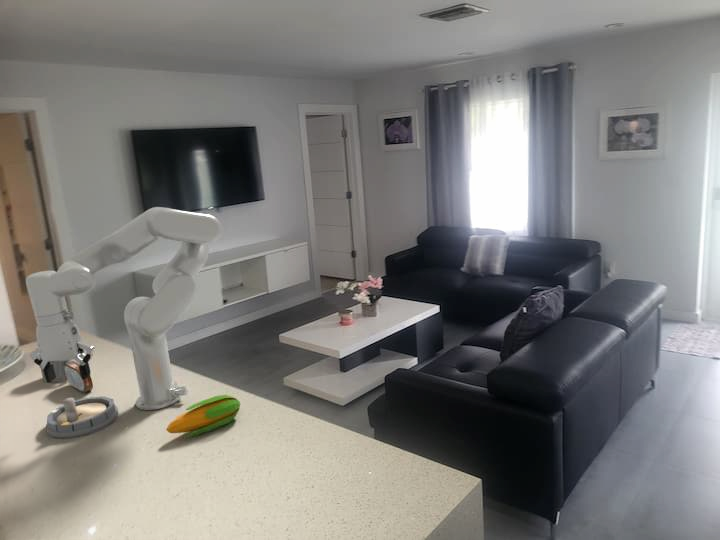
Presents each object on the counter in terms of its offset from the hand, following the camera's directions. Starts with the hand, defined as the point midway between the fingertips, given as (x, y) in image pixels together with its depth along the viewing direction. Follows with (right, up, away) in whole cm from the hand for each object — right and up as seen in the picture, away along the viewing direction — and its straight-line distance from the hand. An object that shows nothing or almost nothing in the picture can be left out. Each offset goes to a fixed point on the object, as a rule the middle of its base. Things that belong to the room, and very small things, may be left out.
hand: (69, 378), depth 147 cm
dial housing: (+1, -13, +6) cm, 15 cm away
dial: (0, -12, +6) cm, 13 cm away
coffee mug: (-24, -8, +40) cm, 47 cm away
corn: (+38, -13, -3) cm, 40 cm away
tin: (-12, -9, +30) cm, 34 cm away
